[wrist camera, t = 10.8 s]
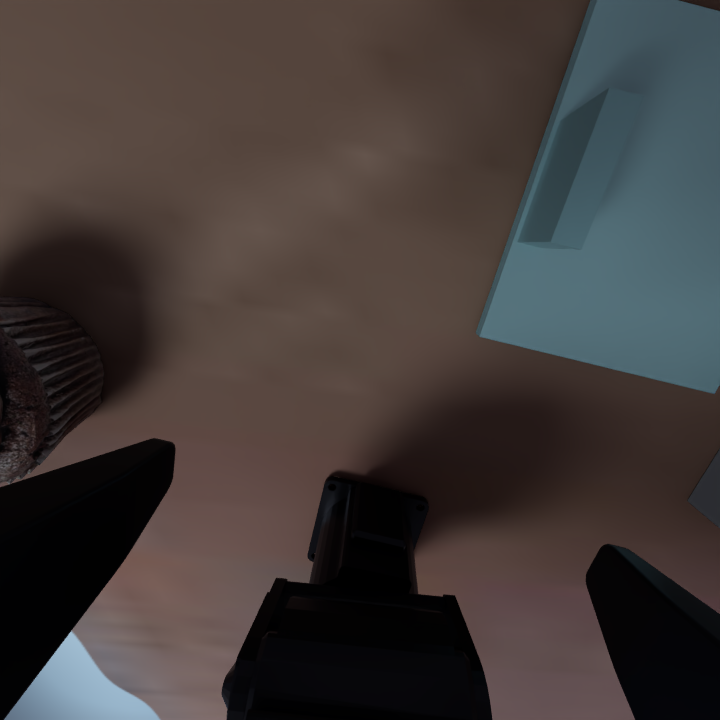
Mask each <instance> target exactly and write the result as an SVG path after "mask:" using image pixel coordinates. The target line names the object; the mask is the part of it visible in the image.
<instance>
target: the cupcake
mask: <svg viewBox="0 0 720 720" xmlns="http://www.w3.org/2000/svg"><path fill="white" fill-rule="evenodd" d="M103 378H104V370H103V365H102V362H101V360H100V353H99V352H98V350H97V346H96V344H95V343H94V342H93V341H92V339H91V337H90V336H89V335H88V334H87V333H86V331H85V329H84V328H83V327H81V326H80V325H79V324H78V323H77V322H76V321H75V320H74V319H73V318H72V317H71V316H70V315H69V314H67V313H65V312H63V311H61V310H59V309H56V308H52V307H50V306H49V305H47V304H46V303H44V302H41V301H39V300H36V299H33V298H24V297H0V483H1V482H5V481H7V482H8V483H9V484H11V483H12V482H13V481H14V480H15V479H16V478H18V479H22V478H23V477H24V476H25V475H26V474H27V473H28V474H30V473H31V472H32V471H33V470H34V469H35V468H36V466H37V465H40V464H41V463H42V462H43V461H44V460H45V459H46V458H47V457H48V455H49V454H50V453H51V452H52V451H53V450H54V449H55V447H56V446H57V445H58V444H59V443H60V442H61V440H62V439H63V438H64V437H65V436H66V435H67V434H68V433H69V432H71V431H72V430H73V429H74V428H75V427H77V426H78V425H79V424H80V423H81V422H83V421H84V420H85V419H86V418H87V417H89V416H90V415H91V414H92V413H93V412H94V410H95V407H97V406H98V405H99V404H100V403H101V395H100V393H101V391H102V386H103Z"/></svg>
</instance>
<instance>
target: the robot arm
mask: <svg viewBox="0 0 720 720" xmlns="http://www.w3.org/2000/svg"><path fill="white" fill-rule="evenodd" d="M174 461H175V445H174V444H173V442H170V441H165V440H161V439H156V438H153V439H149V440H146V441H143V442H140V443H137V444H133V445H130V446H127V447H124V448H121V449H118V450H115V451H112V452H109V453H105V454H102V455H99V456H96V457H93V458H90V459H87V460H84V461H81V462H77V463H74V464H71V465H68V466H65V467H62V468H59V469H56V470H53V471H49V472H46V473H43V474H40V475H37V476H34V477H31V478H28V479H25V480H21V481H18V482H15V483H12V484H9V485H6V486H3V487H0V720H4V719H5V717H6V716H7V715H8V714H9V712H10V711H11V709H12V708H13V707H14V706H15V704H16V703H17V702H18V700H19V699H20V698H21V696H22V695H23V694H24V692H25V691H26V690H27V688H28V687H29V686H30V685H31V683H32V682H33V680H34V679H35V678H36V676H37V675H38V674H39V672H40V671H41V670H42V669H43V667H44V666H45V665H46V663H47V662H48V661H49V659H50V658H51V657H52V656H53V654H54V653H55V651H56V650H57V649H58V648H59V646H60V645H61V644H62V642H63V641H64V640H65V638H66V637H67V636H68V634H69V633H70V632H71V630H72V629H73V628H74V627H75V625H76V624H77V623H78V621H79V620H80V619H81V617H82V616H83V615H84V613H85V612H86V611H87V609H88V608H89V607H90V605H91V604H92V603H93V601H94V600H95V599H96V598H97V596H98V595H99V594H100V592H101V591H102V590H103V588H104V587H105V586H106V584H107V583H108V582H109V580H110V579H111V578H112V576H113V575H114V574H115V572H116V571H117V570H118V568H119V567H120V566H121V564H122V563H123V561H124V560H125V559H126V557H127V555H128V554H129V552H130V551H131V549H132V548H133V546H134V545H135V543H136V541H137V540H138V538H139V536H140V535H141V533H142V532H143V530H144V528H145V527H146V525H147V523H148V522H149V520H150V519H151V517H152V515H153V514H154V512H155V510H156V509H157V507H158V506H159V504H160V502H161V501H162V499H163V497H164V496H165V494H166V493H167V491H168V489H169V487H170V485H171V483H172V479H173V473H174ZM330 484H334V485H336V486H335V487H332V486H330ZM419 504H422V505H423V506H421V507H418V506H417V505H419ZM428 508H429V506H428V502H427V500H426V499H425V498H424V497H421V496H417V495H412V494H408V493H404V492H400V491H397V490H393V489H389V488H384V487H380V486H376V485H371V484H367V483H363V482H361V483H360V482H356V481H352V480H347V479H343V478H339V477H334V476H331V477H328V478H327V479H326V481H325V484H324V488H323V492H322V497H321V501H320V505H319V509H318V513H317V517H316V522H315V526H314V530H313V534H312V538H311V542H310V547H309V551H308V559H309V560H310V561H312V562H314V563H313V567H312V572H311V577H310V582H309V583H300V582H290V581H287V579H284V578H276V579H275V581H274V584H273V586H272V588H271V590H270V592H267V594H266V596H265V598H264V601H263V603H262V605H261V607H260V609H259V611H258V613H257V616H256V618H255V620H254V622H253V624H252V626H251V628H250V631H249V633H248V635H247V637H246V639H245V641H244V643H243V646H242V648H241V650H240V652H239V654H238V657H237V660H236V662H235V664H234V665H233V667H232V668H231V669H230V671H229V672H228V674H227V675H226V677H225V680H224V683H223V687H222V697H223V700H224V702H225V704H226V707H227V709H228V710H227V720H492V713H491V705H490V699H489V693H488V687H487V683H486V679H485V675H484V671H483V668H482V665H481V662H480V659H479V656H478V654H477V651H476V649H475V646H474V643H473V641H472V638H471V636H470V633H469V630H468V628H467V625H466V623H465V620H464V618H463V615H462V612H461V610H460V607H459V605H458V602H457V600H456V597H455V595H445V594H444V595H443V597H441V596H431V595H421V594H418V587H417V578H416V568H415V559H414V549H415V546H416V543H417V540H418V537H419V534H420V532H421V529H422V526H423V523H424V520H425V518H426V515H427V512H428ZM314 553H315V554H314ZM586 585H587V589H588V592H589V595H590V598H591V601H592V604H593V607H594V610H595V613H596V616H597V619H598V622H599V625H600V628H601V631H602V634H603V637H604V640H605V643H606V646H607V649H608V652H609V655H610V658H611V661H612V663H613V666H614V669H615V672H616V674H617V677H618V679H619V682H620V684H621V687H622V689H623V692H624V694H625V696H626V699H627V701H628V703H629V706H630V708H631V711H632V713H633V715H634V718H635V720H720V614H719V613H717V612H716V611H715V610H713V609H712V608H710V607H709V606H708V605H706V604H705V603H703V602H702V601H701V600H699V599H698V598H696V597H695V596H694V595H692V594H691V593H689V592H688V591H687V590H685V589H684V588H682V587H681V586H680V585H678V584H677V583H675V582H674V581H672V580H671V579H670V578H668V577H667V576H665V575H664V574H663V573H661V572H660V571H658V570H657V569H656V568H654V567H653V566H651V565H650V564H649V563H647V562H646V561H644V560H643V559H642V558H640V557H639V556H637V555H636V554H635V553H633V552H632V551H630V550H629V549H626V548H624V547H620V546H615V545H611V544H605V545H603V546H602V547H601V548H600V550H599V551H598V553H597V555H596V557H595V558H594V560H593V562H592V564H591V565H590V567H589V569H588V571H587V574H586Z"/></svg>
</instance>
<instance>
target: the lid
mask: <svg viewBox="0 0 720 720" xmlns="http://www.w3.org/2000/svg"><path fill="white" fill-rule="evenodd" d="M476 334H477V335H478V336H479V337H483V338H487V339H491V340H495V341H499V342H503V343H508V344H512V345H516V346H520V347H524V348H528V349H532V350H536V351H540V352H544V353H549V354H553V355H557V356H561V357H565V358H569V359H573V360H577V361H581V362H585V363H590V364H594V365H598V366H602V367H606V368H610V369H614V370H618V371H622V372H627V373H631V374H635V375H639V376H643V377H647V378H651V379H655V380H659V381H663V382H668V383H672V384H676V385H680V386H684V387H688V388H692V389H696V390H700V391H704V392H709V393H713V394H715V392H716V390H717V389H718V387H719V385H720V11H717V10H713V9H709V8H705V7H702V6H698V5H694V4H690V3H687V2H683V1H679V0H590V3H589V6H588V9H587V12H586V15H585V18H584V21H583V23H582V26H581V29H580V32H579V35H578V38H577V41H576V44H575V47H574V49H573V52H572V55H571V58H570V61H569V64H568V67H567V70H566V73H565V76H564V78H563V81H562V84H561V87H560V90H559V93H558V96H557V99H556V102H555V105H554V107H553V110H552V113H551V116H550V119H549V122H548V125H547V128H546V131H545V134H544V136H543V139H542V142H541V145H540V148H539V151H538V154H537V157H536V160H535V162H534V165H533V168H532V171H531V174H530V177H529V180H528V183H527V186H526V189H525V191H524V194H523V197H522V200H521V203H520V206H519V209H518V212H517V215H516V218H515V220H514V223H513V226H512V229H511V232H510V235H509V238H508V241H507V244H506V247H505V249H504V252H503V255H502V258H501V261H500V264H499V267H498V270H497V273H496V275H495V278H494V281H493V284H492V287H491V290H490V293H489V296H488V299H487V302H486V304H485V307H484V310H483V313H482V316H481V319H480V322H479V325H478V328H477V331H476Z"/></svg>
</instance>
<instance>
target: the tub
mask: <svg viewBox="0 0 720 720" xmlns="http://www.w3.org/2000/svg"><path fill="white" fill-rule="evenodd" d="M688 502H689V503H690V504H691V505H693V506H694V507H695V508H696V509H697V510H699V511H700V512H701V513H702V514H703V515H704V516H706V517H707V518H708V519H709V520H710V521H712V522H713V523H714V524H715V525H716V526H718V527H719V528H720V449H719V451H718V452H717V454H716V456H715V457H714V459H713V460H712V462H711V464H710V465H709V467H708V469H707V470H706V472H705V473H704V475H703V477H702V478H701V480H700V481H699V483H698V485H697V486H696V488H695V489H694V491H693V493H692V494H691V496H690V497H689V499H688Z"/></svg>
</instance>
